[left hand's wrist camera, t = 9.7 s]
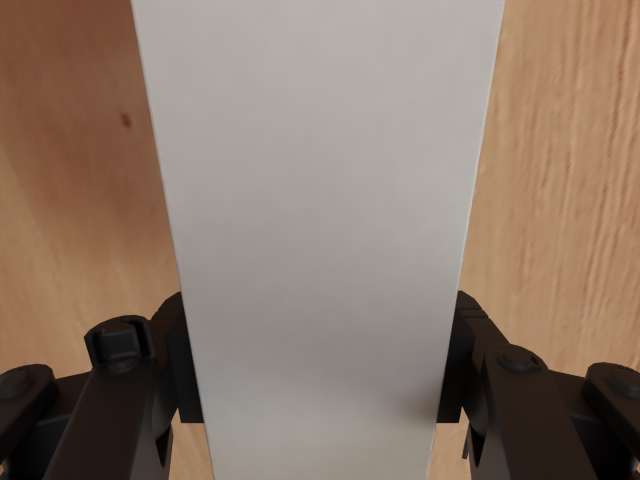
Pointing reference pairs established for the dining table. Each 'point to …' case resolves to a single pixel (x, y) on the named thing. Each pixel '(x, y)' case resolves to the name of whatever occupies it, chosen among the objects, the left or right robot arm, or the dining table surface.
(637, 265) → the dining table surface
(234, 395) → the bar
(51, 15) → the dining table surface
